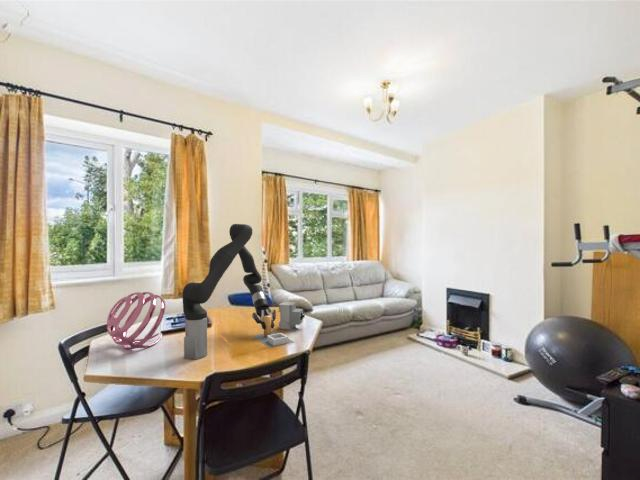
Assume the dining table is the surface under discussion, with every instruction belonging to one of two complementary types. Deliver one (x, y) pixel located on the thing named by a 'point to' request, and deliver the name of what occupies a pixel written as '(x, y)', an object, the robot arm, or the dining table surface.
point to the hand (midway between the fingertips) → (269, 328)
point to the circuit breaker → (290, 315)
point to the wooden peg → (267, 325)
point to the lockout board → (273, 339)
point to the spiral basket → (121, 333)
